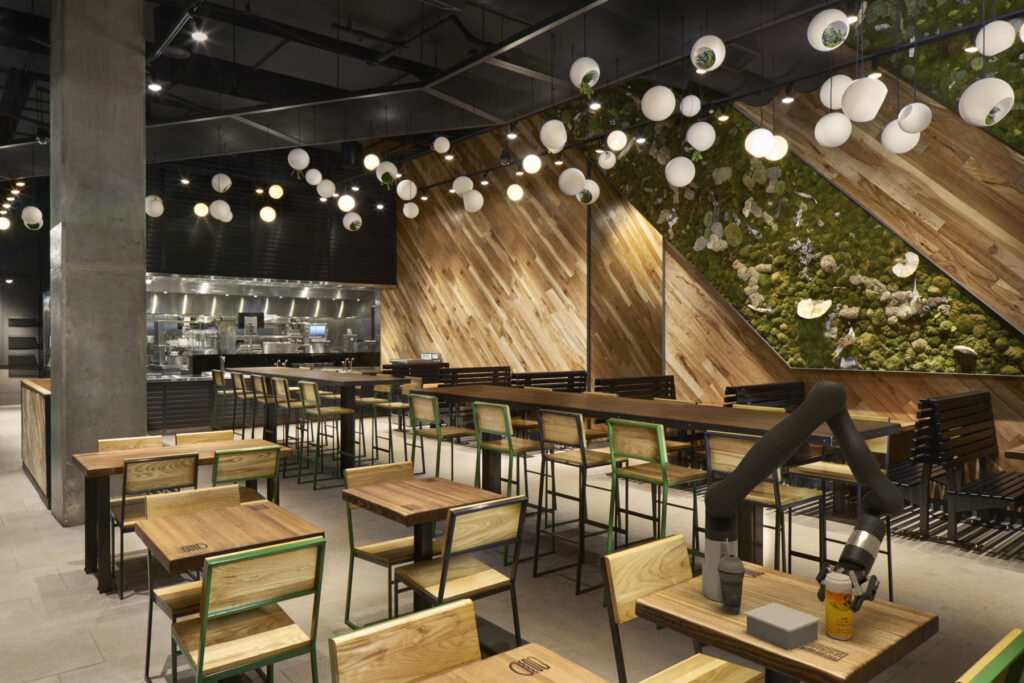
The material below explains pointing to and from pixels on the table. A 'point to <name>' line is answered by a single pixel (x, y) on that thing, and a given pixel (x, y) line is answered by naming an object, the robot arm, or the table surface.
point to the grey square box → (782, 625)
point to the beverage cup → (731, 582)
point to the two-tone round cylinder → (838, 606)
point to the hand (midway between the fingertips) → (836, 605)
